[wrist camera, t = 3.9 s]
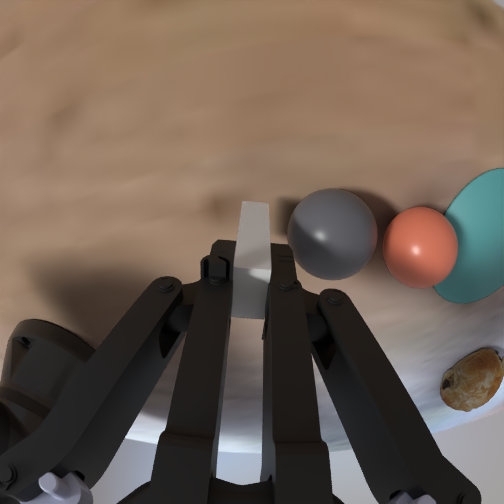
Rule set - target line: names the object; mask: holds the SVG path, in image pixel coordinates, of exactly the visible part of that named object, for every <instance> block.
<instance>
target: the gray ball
mask: <svg viewBox="0 0 504 504" xmlns="http://www.w3.org/2000/svg"><path fill="white" fill-rule="evenodd" d="M287 239H288V245H289V246H290V248H291V249H292V250H293V255H294V259H295V261H296V262H297V263H298V264H299V266H300V267H301V268H303V269H304V270H305V271H306V272H307V273H309V274H311V275H313V276H315V277H317V278H321V279H325V280H340V279H345V278H348V277H350V276H352V275H354V274H356V273H358V272H359V271H360V270H362V269H363V268H364V267H365V266H366V265H367V263H368V262H369V260H370V259H371V257H372V256H373V253H374V251H375V248H376V244H377V225H376V221H375V218H374V216H373V214H372V212H371V210H370V209H369V207H368V206H367V205H366V204H365V202H364V201H363V200H361V199H360V198H359V197H358V196H356V195H355V194H353V193H351V192H348V191H345V190H341V189H333V188H331V189H323V190H319V191H316V192H314V193H311V194H310V195H308V196H307V197H305V198H304V199H303V200H302V201H301V202H300V203H299V204H298V205H297V206H296V207H295V209H294V211H293V213H292V214H291V217H290V220H289V223H288V229H287Z"/></svg>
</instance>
